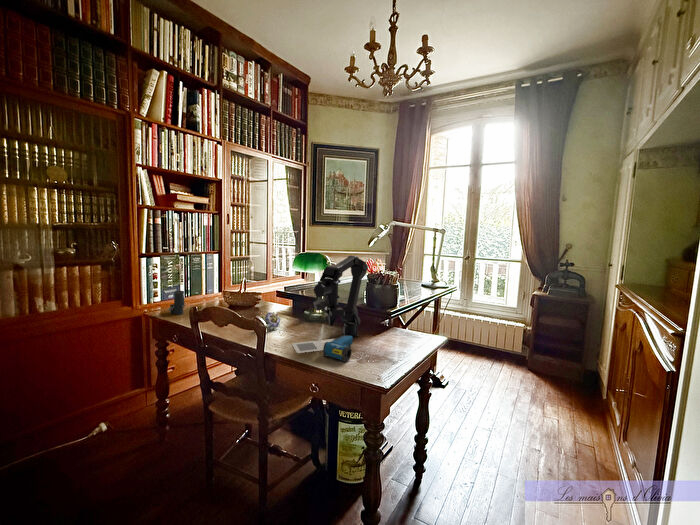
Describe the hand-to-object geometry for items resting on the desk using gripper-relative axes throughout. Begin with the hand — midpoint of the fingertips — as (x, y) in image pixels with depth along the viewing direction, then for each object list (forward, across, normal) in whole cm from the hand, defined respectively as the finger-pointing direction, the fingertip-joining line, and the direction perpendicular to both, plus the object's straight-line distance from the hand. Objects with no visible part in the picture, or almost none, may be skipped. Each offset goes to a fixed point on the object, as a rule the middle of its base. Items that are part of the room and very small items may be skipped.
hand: (331, 325), depth 150 cm
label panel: (+10, -2, -5) cm, 11 cm away
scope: (+10, -76, -70) cm, 104 cm away
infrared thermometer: (+10, +9, +3) cm, 14 cm away
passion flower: (+10, -33, -23) cm, 41 cm away
